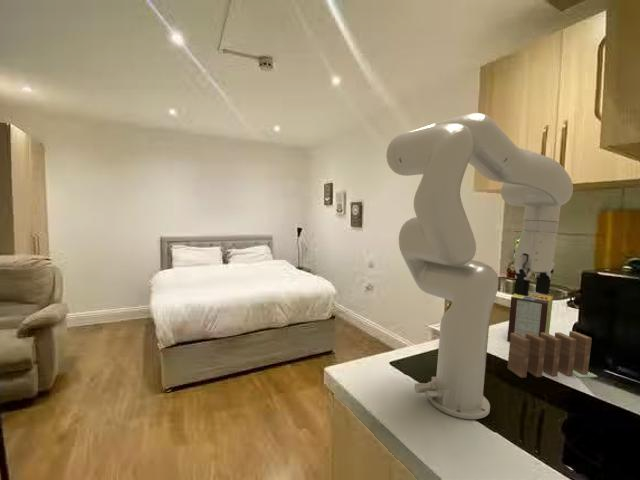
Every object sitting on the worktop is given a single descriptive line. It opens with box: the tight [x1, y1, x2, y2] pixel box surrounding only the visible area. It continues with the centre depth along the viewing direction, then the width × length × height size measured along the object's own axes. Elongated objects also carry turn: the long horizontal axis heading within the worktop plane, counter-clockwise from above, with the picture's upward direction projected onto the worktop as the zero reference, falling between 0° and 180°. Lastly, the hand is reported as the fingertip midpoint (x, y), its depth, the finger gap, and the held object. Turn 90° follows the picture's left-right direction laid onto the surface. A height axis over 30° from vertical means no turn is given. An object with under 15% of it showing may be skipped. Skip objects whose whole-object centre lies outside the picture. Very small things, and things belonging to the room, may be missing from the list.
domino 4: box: [554, 331, 576, 377], centre depth 89 cm, size 2×5×10 cm, turn 8°
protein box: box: [506, 290, 554, 343], centre depth 112 cm, size 10×15×16 cm
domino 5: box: [568, 330, 593, 375], centre depth 89 cm, size 2×5×10 cm, turn 9°
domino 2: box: [525, 333, 546, 378], centre depth 88 cm, size 2×5×10 cm, turn 8°
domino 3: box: [540, 333, 561, 378], centre depth 88 cm, size 2×5×10 cm, turn 8°
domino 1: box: [506, 333, 530, 379], centre depth 87 cm, size 2×5×10 cm, turn 8°
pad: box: [572, 370, 598, 379], centre depth 90 cm, size 6×7×1 cm
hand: (531, 293), depth 85 cm, fingers open, 9 cm apart
